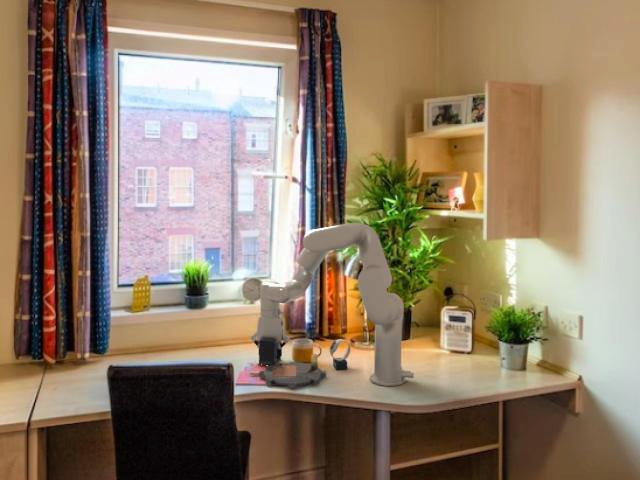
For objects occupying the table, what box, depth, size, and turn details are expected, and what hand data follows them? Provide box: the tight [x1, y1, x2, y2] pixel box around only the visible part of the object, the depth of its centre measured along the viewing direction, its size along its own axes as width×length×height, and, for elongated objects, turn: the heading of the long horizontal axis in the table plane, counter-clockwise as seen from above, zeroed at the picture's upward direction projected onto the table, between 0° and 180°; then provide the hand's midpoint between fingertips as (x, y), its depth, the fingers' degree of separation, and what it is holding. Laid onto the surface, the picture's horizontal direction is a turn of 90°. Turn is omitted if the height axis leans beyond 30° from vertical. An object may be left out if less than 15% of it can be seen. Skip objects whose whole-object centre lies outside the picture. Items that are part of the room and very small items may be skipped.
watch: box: [328, 338, 351, 371], centre depth 213 cm, size 6×8×11 cm
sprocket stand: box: [249, 370, 260, 376], centre depth 203 cm, size 21×10×1 cm, turn 79°
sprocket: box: [258, 353, 327, 389], centre depth 202 cm, size 24×24×7 cm
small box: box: [258, 338, 282, 366], centre depth 220 cm, size 11×6×10 cm, turn 169°
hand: (270, 357), depth 220 cm, fingers closed on small box, 6 cm apart
